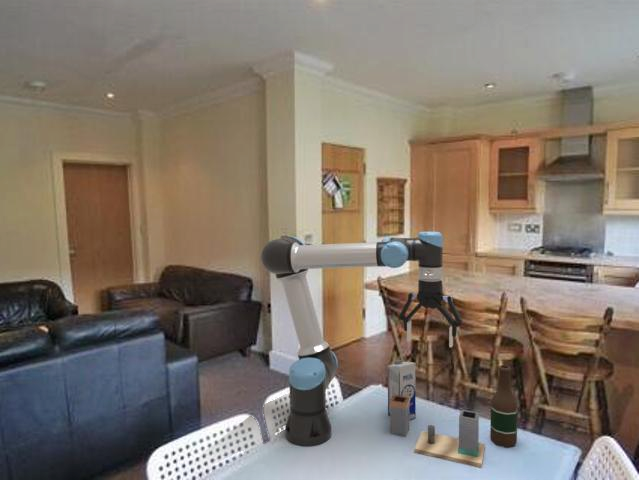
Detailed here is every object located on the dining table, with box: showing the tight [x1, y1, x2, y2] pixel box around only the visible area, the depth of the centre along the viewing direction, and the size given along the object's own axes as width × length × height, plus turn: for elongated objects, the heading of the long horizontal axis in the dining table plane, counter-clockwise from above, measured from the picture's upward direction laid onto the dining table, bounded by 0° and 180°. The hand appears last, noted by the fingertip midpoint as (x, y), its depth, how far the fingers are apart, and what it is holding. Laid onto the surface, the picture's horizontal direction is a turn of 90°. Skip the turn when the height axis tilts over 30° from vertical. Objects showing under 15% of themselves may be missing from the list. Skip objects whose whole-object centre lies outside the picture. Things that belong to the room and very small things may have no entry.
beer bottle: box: [489, 364, 519, 449], centre depth 134 cm, size 8×8×24 cm
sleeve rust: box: [389, 395, 410, 438], centre depth 142 cm, size 5×5×11 cm
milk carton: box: [387, 359, 417, 421], centre depth 151 cm, size 7×7×20 cm
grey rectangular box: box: [458, 409, 480, 457], centre depth 128 cm, size 5×5×11 cm
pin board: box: [413, 424, 486, 469], centre depth 131 cm, size 19×11×6 cm, turn 65°
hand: (429, 343), depth 142 cm, fingers open, 13 cm apart
